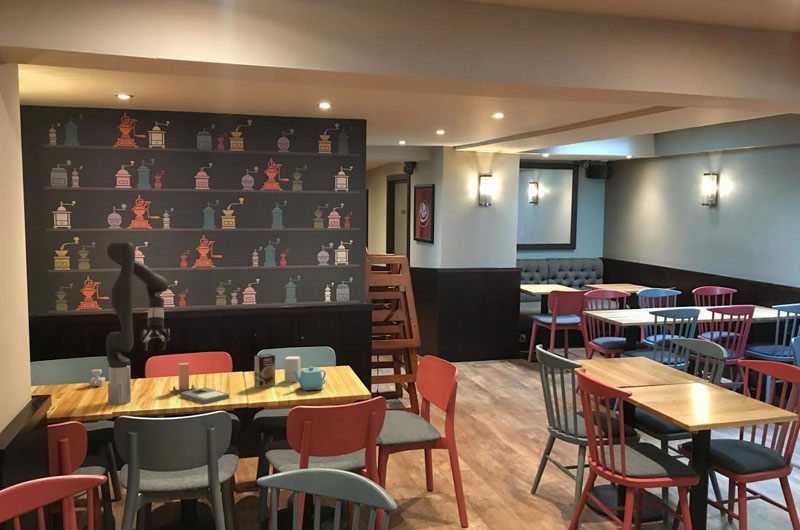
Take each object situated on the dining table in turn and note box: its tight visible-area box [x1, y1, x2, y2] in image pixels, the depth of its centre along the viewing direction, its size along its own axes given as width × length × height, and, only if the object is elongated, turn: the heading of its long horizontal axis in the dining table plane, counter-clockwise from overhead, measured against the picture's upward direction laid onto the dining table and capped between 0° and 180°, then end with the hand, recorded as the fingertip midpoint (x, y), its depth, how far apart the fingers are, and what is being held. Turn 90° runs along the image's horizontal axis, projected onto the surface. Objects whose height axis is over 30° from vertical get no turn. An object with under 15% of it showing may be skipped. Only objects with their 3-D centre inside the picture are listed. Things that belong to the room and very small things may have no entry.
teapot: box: [292, 365, 327, 392], centre depth 331 cm, size 12×18×12 cm
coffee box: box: [253, 353, 276, 389], centre depth 336 cm, size 9×6×16 cm
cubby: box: [172, 384, 196, 395], centre depth 325 cm, size 9×10×2 cm
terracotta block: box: [178, 362, 190, 390], centre depth 325 cm, size 4×4×14 cm
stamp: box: [88, 368, 106, 387], centre depth 334 cm, size 9×7×8 cm
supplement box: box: [283, 355, 302, 383], centre depth 349 cm, size 7×7×13 cm
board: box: [179, 387, 230, 405], centre depth 314 cm, size 20×14×2 cm
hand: (154, 349), depth 320 cm, fingers open, 8 cm apart
